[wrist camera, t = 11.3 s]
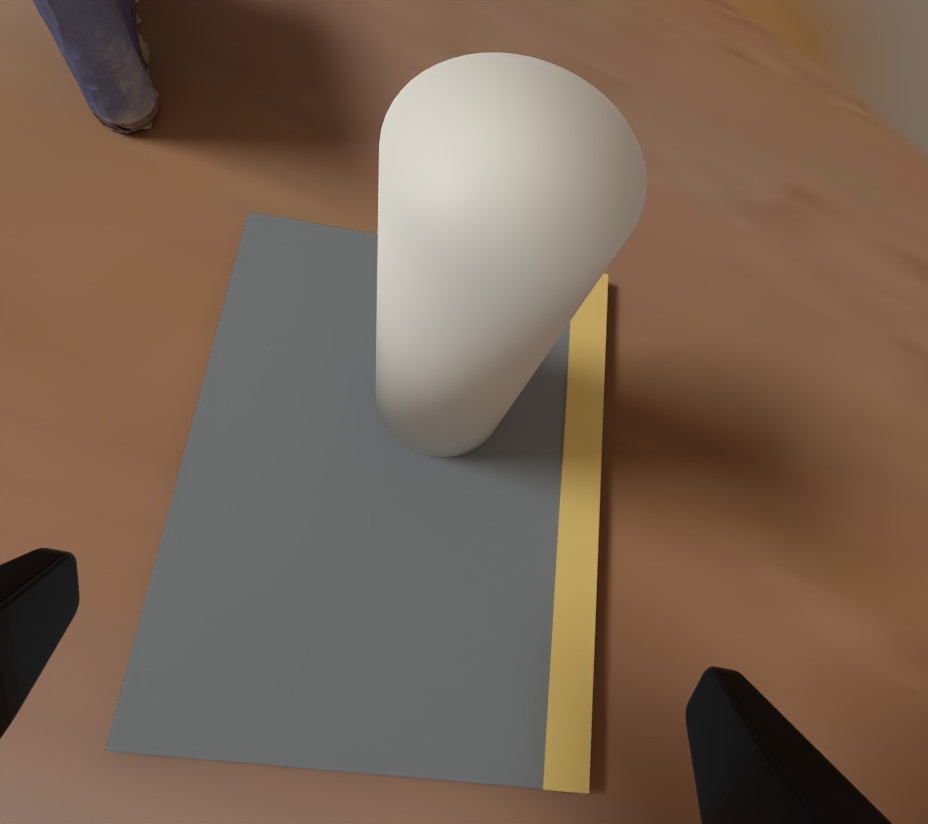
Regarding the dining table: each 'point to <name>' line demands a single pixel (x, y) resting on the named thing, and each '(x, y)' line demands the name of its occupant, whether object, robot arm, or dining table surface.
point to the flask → (105, 58)
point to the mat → (369, 550)
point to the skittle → (490, 236)
